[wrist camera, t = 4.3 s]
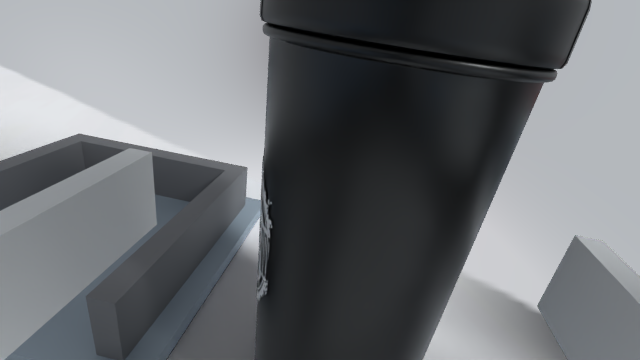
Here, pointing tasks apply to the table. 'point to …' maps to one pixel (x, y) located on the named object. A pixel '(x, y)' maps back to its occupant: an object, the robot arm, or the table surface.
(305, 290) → the water bottle
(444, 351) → the table surface
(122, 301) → the walled base tray
